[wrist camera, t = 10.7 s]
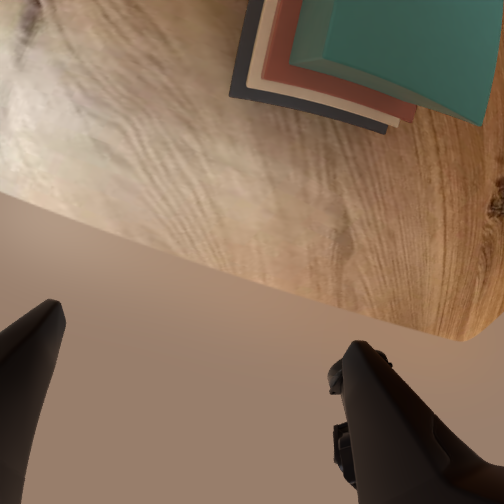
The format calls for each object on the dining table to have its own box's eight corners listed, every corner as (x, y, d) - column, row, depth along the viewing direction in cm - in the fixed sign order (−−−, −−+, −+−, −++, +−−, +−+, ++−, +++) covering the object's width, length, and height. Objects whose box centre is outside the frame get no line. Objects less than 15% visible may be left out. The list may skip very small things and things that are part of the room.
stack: (369, 127, 18) (425, 158, 12) (229, 94, 16) (223, 105, 10) (398, 7, 13) (463, -8, 7) (258, -36, 12) (269, -87, 6)
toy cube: (403, 101, 10) (481, 128, 6) (287, 64, 10) (321, 58, 5) (425, 3, 8) (504, -10, 3) (312, -43, 7) (354, -98, 3)
